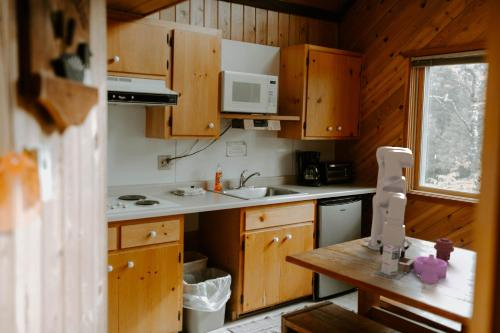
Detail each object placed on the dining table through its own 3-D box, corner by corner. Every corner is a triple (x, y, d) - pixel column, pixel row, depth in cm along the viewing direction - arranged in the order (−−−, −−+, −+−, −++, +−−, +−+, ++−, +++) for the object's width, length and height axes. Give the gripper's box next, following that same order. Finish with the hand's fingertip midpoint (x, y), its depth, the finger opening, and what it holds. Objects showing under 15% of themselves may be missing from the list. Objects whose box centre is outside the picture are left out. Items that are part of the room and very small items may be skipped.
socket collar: (381, 267, 245) (381, 259, 244) (389, 260, 256) (389, 253, 256) (408, 273, 238) (409, 265, 237) (415, 266, 249) (416, 259, 249)
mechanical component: (450, 259, 265) (454, 265, 255) (431, 257, 267) (434, 263, 257) (452, 237, 264) (456, 242, 254) (433, 235, 265) (436, 240, 256)
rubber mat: (373, 274, 233) (373, 273, 233) (381, 267, 243) (381, 267, 243) (399, 280, 227) (399, 279, 227) (405, 273, 237) (406, 272, 237)
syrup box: (389, 275, 232) (392, 245, 230) (380, 271, 237) (383, 242, 235) (398, 274, 234) (401, 244, 233) (389, 270, 239) (392, 241, 238)
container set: (413, 266, 249) (416, 241, 247) (445, 272, 244) (448, 246, 242) (411, 281, 226) (413, 254, 224) (446, 288, 220) (449, 260, 219)
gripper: (375, 219, 234) (371, 254, 236) (411, 226, 224) (407, 262, 227) (379, 217, 240) (376, 250, 242) (415, 223, 231) (412, 258, 233)
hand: (391, 256), depth 234 cm, fingers open, 9 cm apart
